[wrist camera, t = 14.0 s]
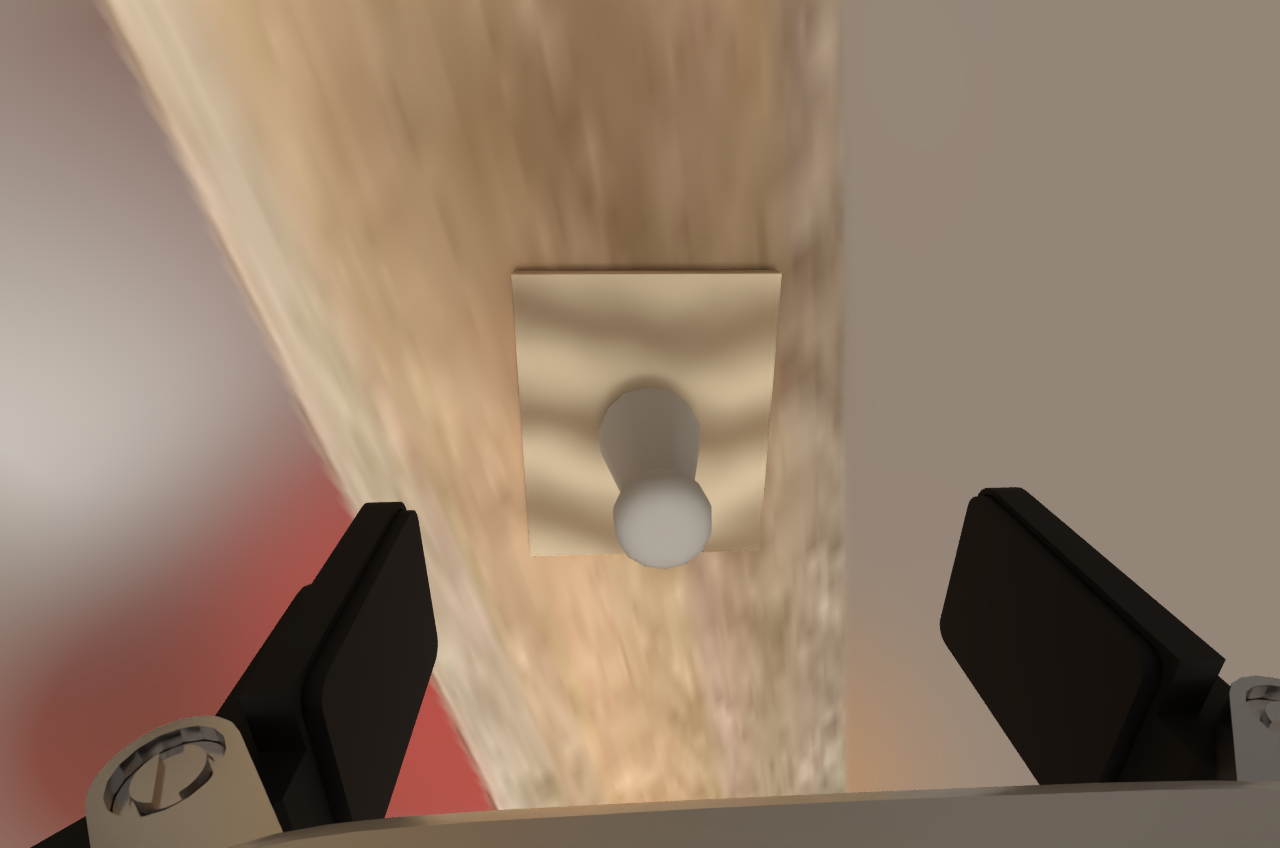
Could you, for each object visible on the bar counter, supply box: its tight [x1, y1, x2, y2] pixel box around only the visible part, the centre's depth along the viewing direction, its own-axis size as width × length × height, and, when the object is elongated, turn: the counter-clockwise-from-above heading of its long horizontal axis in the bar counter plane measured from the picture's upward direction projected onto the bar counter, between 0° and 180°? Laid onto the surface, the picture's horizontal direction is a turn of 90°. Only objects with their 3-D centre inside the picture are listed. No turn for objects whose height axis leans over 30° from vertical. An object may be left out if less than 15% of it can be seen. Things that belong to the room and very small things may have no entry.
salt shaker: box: [599, 387, 712, 569], centre depth 33 cm, size 6×6×13 cm
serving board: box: [511, 270, 782, 556], centre depth 40 cm, size 18×15×2 cm
